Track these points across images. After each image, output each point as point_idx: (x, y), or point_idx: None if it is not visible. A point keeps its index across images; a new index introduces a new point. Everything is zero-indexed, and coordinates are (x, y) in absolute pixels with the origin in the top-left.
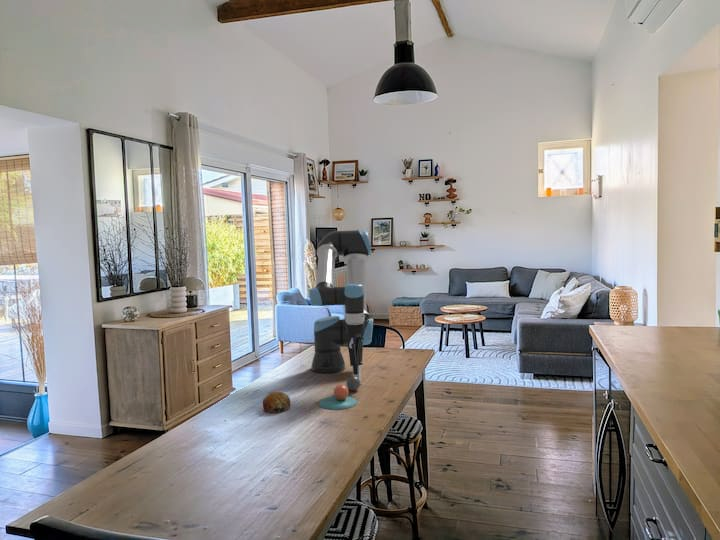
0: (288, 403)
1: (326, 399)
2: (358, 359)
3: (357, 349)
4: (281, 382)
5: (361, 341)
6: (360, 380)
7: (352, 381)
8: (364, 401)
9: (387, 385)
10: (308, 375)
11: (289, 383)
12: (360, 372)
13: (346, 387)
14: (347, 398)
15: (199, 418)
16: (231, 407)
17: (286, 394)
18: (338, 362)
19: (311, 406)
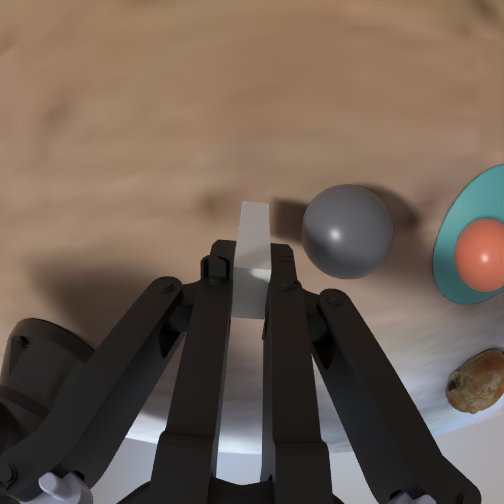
0: (500, 359)
1: (458, 290)
2: (273, 322)
3: (321, 443)
4: (250, 431)
5: (56, 472)
6: (248, 204)
7: (392, 240)
8: (495, 131)
9: (202, 26)
10: (155, 399)
11: (256, 420)
12: (238, 231)
13: (501, 245)
14: (465, 214)
15: (468, 424)
16: (435, 425)
17: (489, 385)
18: (50, 360)
19: (495, 308)
